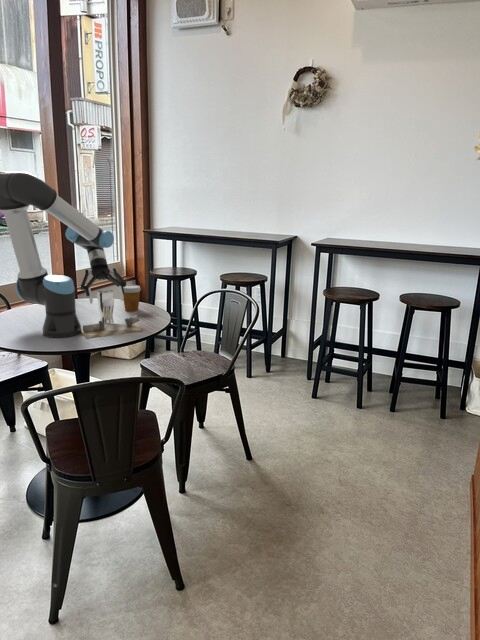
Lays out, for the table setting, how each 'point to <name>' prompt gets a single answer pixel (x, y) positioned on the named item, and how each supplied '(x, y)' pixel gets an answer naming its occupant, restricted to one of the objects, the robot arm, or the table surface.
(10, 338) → the table surface
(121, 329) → the shaft cradle
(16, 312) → the table surface
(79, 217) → the robot arm
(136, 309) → the disposable coffee cup
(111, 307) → the beer glass
